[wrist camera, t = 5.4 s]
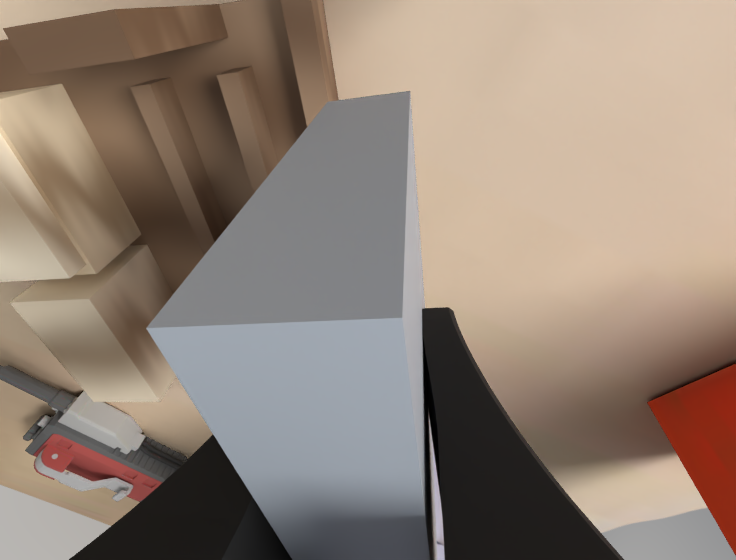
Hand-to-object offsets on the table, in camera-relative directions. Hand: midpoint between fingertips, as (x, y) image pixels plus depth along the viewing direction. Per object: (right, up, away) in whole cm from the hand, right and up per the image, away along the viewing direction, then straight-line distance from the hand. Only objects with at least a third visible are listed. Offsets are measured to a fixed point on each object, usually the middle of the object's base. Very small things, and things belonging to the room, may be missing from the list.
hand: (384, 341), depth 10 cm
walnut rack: (-9, +4, +11) cm, 15 cm away
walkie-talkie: (-24, -10, +24) cm, 36 cm away
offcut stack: (-14, +3, +11) cm, 18 cm away
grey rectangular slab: (0, +2, +3) cm, 3 cm away
